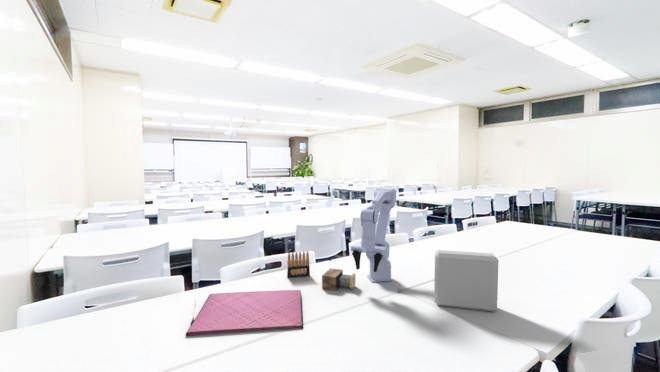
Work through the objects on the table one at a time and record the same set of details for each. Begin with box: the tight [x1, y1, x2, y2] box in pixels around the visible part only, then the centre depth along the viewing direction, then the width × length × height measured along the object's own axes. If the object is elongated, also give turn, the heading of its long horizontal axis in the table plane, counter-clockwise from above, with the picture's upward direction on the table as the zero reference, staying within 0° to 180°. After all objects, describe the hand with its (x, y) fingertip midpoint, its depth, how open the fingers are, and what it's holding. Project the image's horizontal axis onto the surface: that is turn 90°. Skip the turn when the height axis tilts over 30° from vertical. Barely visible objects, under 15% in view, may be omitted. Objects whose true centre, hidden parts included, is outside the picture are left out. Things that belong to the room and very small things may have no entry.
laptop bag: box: [185, 289, 304, 337], centre depth 109 cm, size 40×4×27 cm
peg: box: [339, 273, 356, 290], centre depth 131 cm, size 8×5×5 cm, turn 70°
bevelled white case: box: [433, 249, 499, 312], centre depth 113 cm, size 21×8×20 cm, turn 74°
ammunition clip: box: [286, 250, 311, 279], centre depth 144 cm, size 11×2×12 cm, turn 103°
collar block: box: [321, 268, 344, 291], centre depth 133 cm, size 6×10×6 cm, turn 160°
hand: (366, 270), depth 127 cm, fingers open, 7 cm apart
